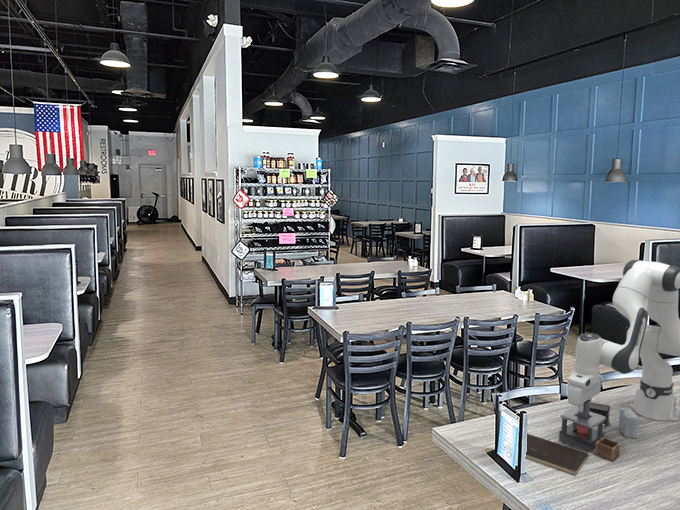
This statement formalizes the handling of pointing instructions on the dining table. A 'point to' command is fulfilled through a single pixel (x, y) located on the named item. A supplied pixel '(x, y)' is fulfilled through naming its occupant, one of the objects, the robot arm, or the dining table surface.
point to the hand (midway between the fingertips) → (583, 409)
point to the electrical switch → (600, 410)
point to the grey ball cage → (577, 440)
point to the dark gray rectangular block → (585, 411)
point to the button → (582, 430)
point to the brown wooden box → (607, 449)
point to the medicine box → (628, 423)
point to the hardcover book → (555, 454)
